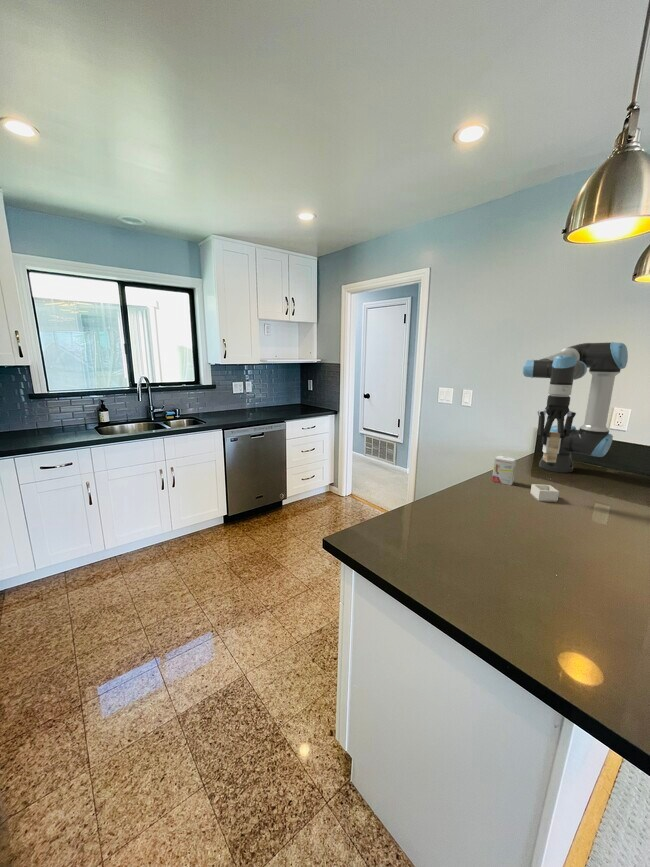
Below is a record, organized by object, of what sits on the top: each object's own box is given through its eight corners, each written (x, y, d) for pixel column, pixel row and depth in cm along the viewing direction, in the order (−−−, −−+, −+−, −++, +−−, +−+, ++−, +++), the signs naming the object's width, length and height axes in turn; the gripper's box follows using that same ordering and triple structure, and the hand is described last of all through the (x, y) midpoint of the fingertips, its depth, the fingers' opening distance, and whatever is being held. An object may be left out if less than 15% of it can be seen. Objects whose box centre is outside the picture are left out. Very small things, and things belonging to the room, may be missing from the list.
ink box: (491, 481, 166) (494, 457, 164) (494, 478, 170) (496, 455, 168) (511, 485, 161) (514, 460, 159) (513, 482, 165) (516, 458, 162)
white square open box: (530, 494, 151) (531, 484, 150) (548, 495, 150) (550, 485, 149) (538, 500, 144) (539, 490, 143) (557, 501, 143) (559, 491, 142)
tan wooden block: (542, 459, 145) (546, 431, 143) (551, 460, 145) (555, 431, 142) (546, 462, 142) (551, 433, 139) (555, 462, 142) (560, 433, 139)
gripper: (541, 395, 135) (533, 454, 140) (587, 396, 133) (577, 456, 138) (532, 393, 142) (524, 449, 147) (576, 394, 140) (567, 451, 146)
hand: (550, 452), depth 143 cm, fingers closed on tan wooden block, 3 cm apart
